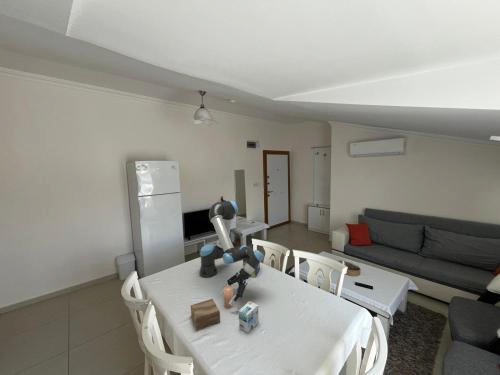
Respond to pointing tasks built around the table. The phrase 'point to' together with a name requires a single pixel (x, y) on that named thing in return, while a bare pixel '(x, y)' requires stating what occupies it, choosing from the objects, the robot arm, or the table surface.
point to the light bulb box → (248, 316)
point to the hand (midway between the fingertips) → (226, 298)
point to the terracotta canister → (228, 296)
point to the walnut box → (205, 314)
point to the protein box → (254, 270)
